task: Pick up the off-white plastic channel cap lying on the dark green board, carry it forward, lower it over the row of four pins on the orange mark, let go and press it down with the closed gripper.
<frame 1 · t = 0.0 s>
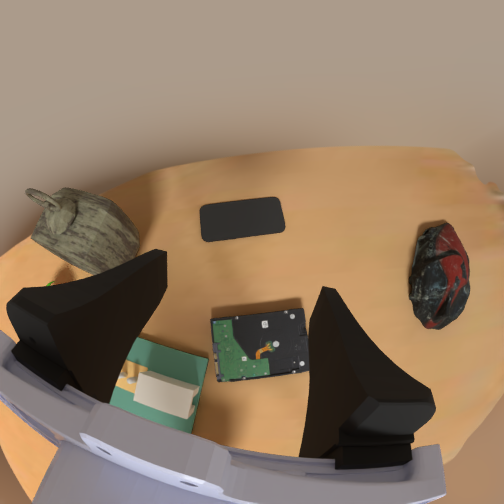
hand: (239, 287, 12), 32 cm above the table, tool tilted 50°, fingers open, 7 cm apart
channel cap: (171, 391, 38), point 1 cm above the table, touching pin board
pin board: (145, 381, 39), on the table
drone shell: (438, 275, 47), on the table
phone: (241, 220, 50), on the table
tabletop clock: (116, 260, 46), on the table
disk drive: (260, 346, 42), on the table
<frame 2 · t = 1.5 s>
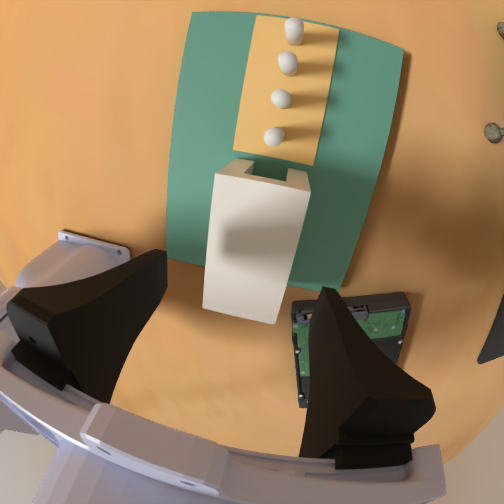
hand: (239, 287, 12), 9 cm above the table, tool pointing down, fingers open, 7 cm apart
channel cap: (260, 223, 19), point 1 cm above the table, touching pin board
pin board: (274, 150, 17), on the table
disk drive: (345, 348, 26), on the table
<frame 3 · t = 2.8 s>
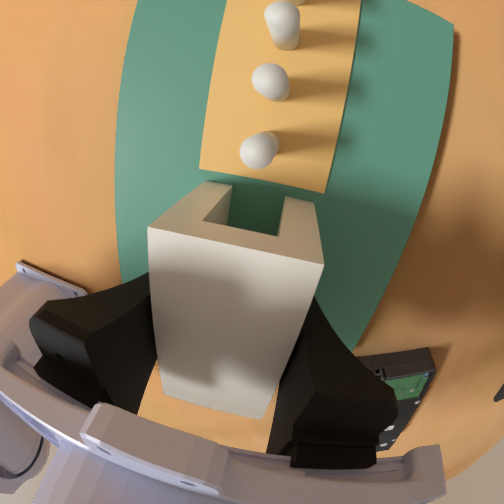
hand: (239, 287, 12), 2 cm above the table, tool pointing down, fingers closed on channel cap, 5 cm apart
channel cap: (243, 275, 13), point 1 cm above the table, touching gripper, pin board
pin board: (264, 167, 11), on the table
disk drive: (350, 402, 20), on the table
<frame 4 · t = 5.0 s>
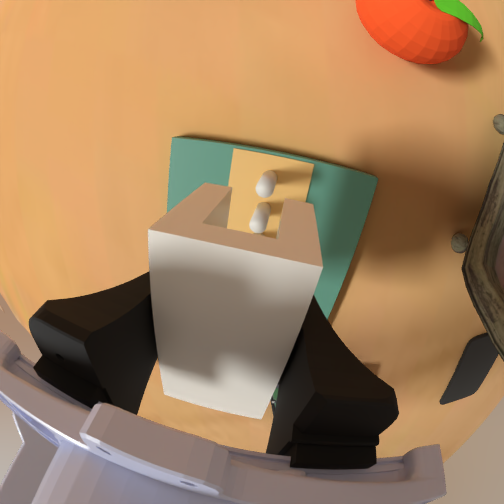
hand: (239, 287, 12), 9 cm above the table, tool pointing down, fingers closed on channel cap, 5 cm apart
channel cap: (243, 276, 13), point 8 cm above the table, touching gripper
pin board: (252, 269, 22), on the table
phone: (471, 367, 25), on the table
tabletop clock: (496, 192, 15), on the table
clementine: (400, 30, 12), on the table
when the fingers open (2 cm above the table, at t = 7.5 s): channel cap stays where it is, resting on pin board.
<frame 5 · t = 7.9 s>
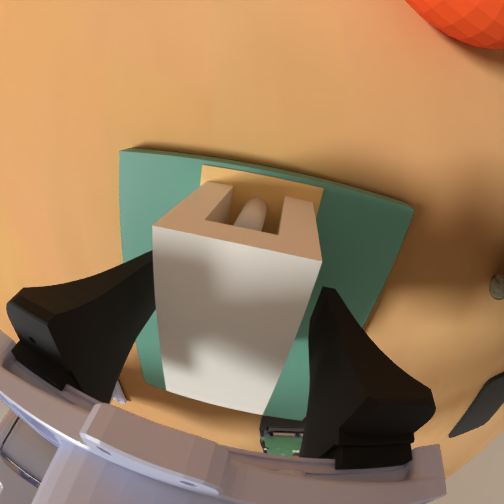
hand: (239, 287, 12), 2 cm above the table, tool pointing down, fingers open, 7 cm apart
channel cap: (244, 273, 13), point 1 cm above the table, touching pin board
pin board: (237, 322, 16), on the table
phone: (485, 401, 19), on the table
disk drive: (312, 438, 25), on the table
clementine: (438, 4, 6), on the table
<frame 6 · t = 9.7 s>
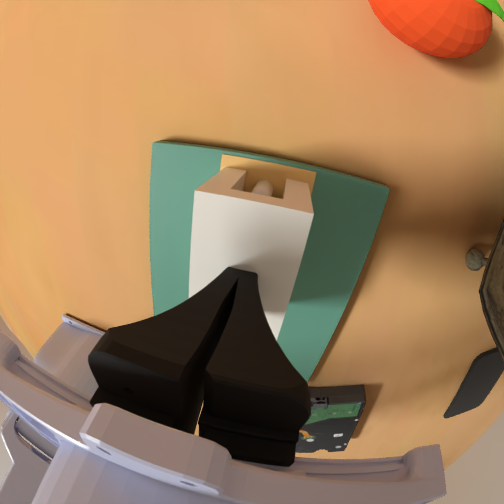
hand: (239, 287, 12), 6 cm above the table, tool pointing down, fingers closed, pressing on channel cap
channel cap: (254, 242, 16), point 1 cm above the table, touching gripper, pin board
pin board: (246, 289, 20), on the table
phone: (477, 381, 23), on the table
disk drive: (311, 414, 28), on the table
clementine: (413, 20, 9), on the table
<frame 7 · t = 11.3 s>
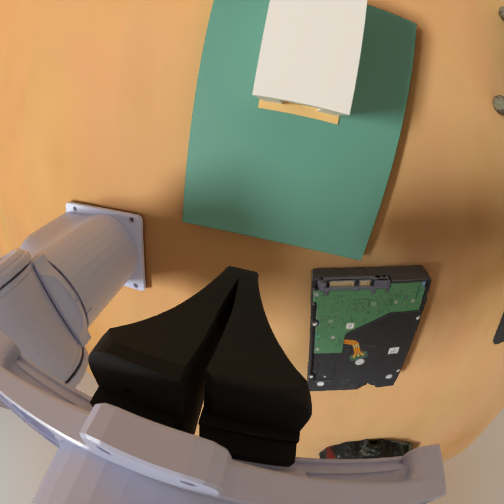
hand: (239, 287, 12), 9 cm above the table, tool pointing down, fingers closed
channel cap: (310, 50, 13), point 1 cm above the table, touching pin board
pin board: (298, 111, 16), on the table
drone shell: (368, 452, 40), on the table
disk drive: (359, 326, 25), on the table
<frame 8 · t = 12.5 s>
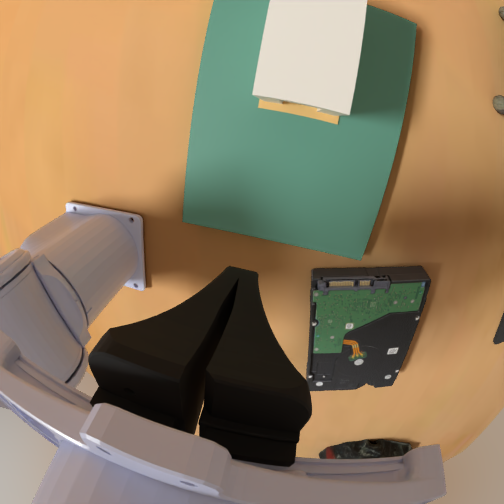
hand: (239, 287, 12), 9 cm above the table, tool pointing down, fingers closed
channel cap: (310, 50, 13), point 1 cm above the table, touching pin board
pin board: (298, 111, 16), on the table
drone shell: (367, 452, 40), on the table
disk drive: (358, 326, 25), on the table
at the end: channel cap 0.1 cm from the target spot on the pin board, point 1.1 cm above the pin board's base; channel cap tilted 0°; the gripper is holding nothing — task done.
